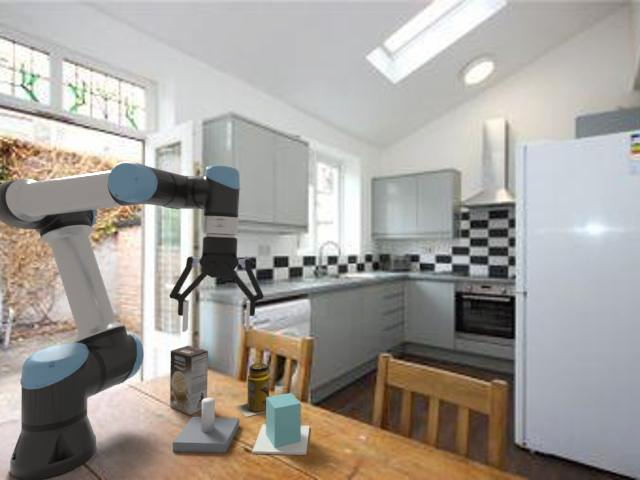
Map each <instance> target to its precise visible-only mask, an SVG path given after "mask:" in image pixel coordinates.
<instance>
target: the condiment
mask: <svg viewBox="0 0 640 480" xmlns="http://www.w3.org/2000/svg"><path fill="white" fill-rule="evenodd" d="M248 368H249V372H248V375H247V403H245V404H239V405H236V408H237V409H238V410H239V412H240V413H241V414H243V416H244V417H245V418H247V417H250V416H251V417H252V416H254V415H258V414H264V413H266V397H270V374H269V366H268V365H267V363H263V362H257V363H253V364H250V365H249V367H248Z"/></svg>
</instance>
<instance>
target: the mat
mask: <svg viewBox="0 0 640 480" xmlns="http://www.w3.org/2000/svg"><path fill="white" fill-rule="evenodd" d="M310 427H311V425H301V442H297V443H293V444H289V445H285V446H281V447H277V448H274V447H273V445H272V443H271V442H270V440H269V439H268V437H267V435H266V423H264V424H262V425H261V428H260V430H259V433H258V435H257V437H256V438H257V439H256V441H255V442H254V446H253V448H252V450H251V454H256V455H257V454H260V455H262V454H264V455H265V454H266V455H291V456H292V455H299V456H307V449H308V444H309V442H308V441H309V435H310V434H309V433H310Z"/></svg>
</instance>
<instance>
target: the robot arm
mask: <svg viewBox="0 0 640 480" xmlns="http://www.w3.org/2000/svg"><path fill="white" fill-rule="evenodd" d="M240 179H241V178H240V172H239V170H238V169H237V168H234V167H233V166H227V165H216V164H215V165H208V166H207V167H206V168H205V173H204V175H200V176H199V175H197V176H195V175H193V176H192V175H182V174H179V173H174V172H171V171H168V170H167V171H166V170H162V169H158V168H156V167H151V166H148V165H145V164H143V163H138V162H128V161H122V162H119V163H117V164H116V166H114V167H113V168H111V170H106V171H105V170H104V171H98V172H94V173H93V172H92V173H86V174H79V175H72V176H66V177H65V176H64V177H60V178H52V179H51V178H50V179H46V180H38V181H37V180H34V179H31V178H20V179H13V180H8V181H5V182H2V183H0V222H1V223H3V224H5V225H6V226H9V227H11V228H14V229H20V230H33V231H34V230H35V231H37V232H38V233H39V237H40V239H41V242H43V243H45V244H47V245H50V248H51V250H52V253H53V257H54V260H55V264H56V266H57V269H58V273H59V276H60V279H61V280H60V281H61V283H62V286H63V289H64V292H65V296H66V299H67V303H68V305H69V308H70V310H71V314H72V318H73V321H74V324H75V327H76V330H77V336H76V338H75V339H74V341H73V342H65V343H61V344H59V345H58V344H55V345H52V346H49V347H48V346H47V347H45V348H43V349H40V350H38V351H36V352H35V353H32V354H30V355H29V356H28V357H27V358H26V359H25V361H24V362H23V364H22V367H21V368H22V370H21V377H20V385H21V402H20V403H21V408H20V409H21V411H20V412H21V418H20V419H21V424H20V425H21V426H20V427H21V430H20V434H19V436H18V439H17V440H16V443H15V446H14V449H13V451H12V452H13V453H12V455H11V457H10V459H9V460H10V463H9V464H10V465H9V473H10V475H11V476H12V477H13V478H15V479H18V480H43V479H47V478H51V477H55V476H58V475H63V474H64V473H67V472H69V471H72V470H73V469H74V470H75V469H76V468H78V467H80V466H82V465H83V464H85V463H86V462H87V461H88V460H90V459H91V458H92V457H93V456H94V454H95V453H96V450H97V436H96V435H95V433H94V430H93V427H92V424H91V422H90V419H89V415H88V399H89V398H91V397H92V396H95V395H97V394H99V393H101V392H103V391H105V390H108V389H110V388H112V387H115V386H118V385H120V384H123V383H124V382H126V381H127V380H129V379H131V378H132V377H134V376H135V375H136V374H138V372H139V371H140V369H141V367H142V366H141V365H143V362H144V354H145V353H144V346H143V343H142V341H141V340H140V338H139V337H138V336H136V335H135V334H133V333H129V332H128V331H127V328H126V326H125V324H123V323H121V322H118V321H117V319H116V317H115V314H114V310H113V308H112V304H111V301H110V297H109V295H108V292H107V288H106V286H105V283H104V279H103V276H102V274H101V269H100V267H99V264H98V262H97V261H98V260H97V259H96V255H95V252H94V249H93V245H92V242H91V239H90V236H91V234H92V233H93V231H94V228H93V226H95V224H96V223H97V222H96V221H97V218H96V217H97V216H98V210H102V209H111V208H118V207H126V206H127V207H129V206H131V207H132V206H138V205H152V206H157V207H160V206H161V207H163V208H166V209H173V210H174V209H175V210H182V209H183V210H184V209H186V210H187V209H190V210H196V209H197V210H203V228H202V229H203V230H202V233H203V234H204V235H205V236H203V238H202V249H201V250H202V252H201V257H194V256H192V255H190V256H188V257H187V258H186V264H185V267H184V269H183V271H182V272H181V274H180V276H179V277H178V279H177V281H176V283H175V284H174V285H173V286H174V287H173V288H172V290H171V292H170V294H169V298H170V299H174V300H176V301H177V303H178V304H177V305H178V306H177V315H178V316H179V317H181V316H182V324H181V325H182V328H181V332H183V333H185V332H187V331H188V329H189V310H190V309H189V307H190V300H189V299H186V298H187V297H188V296H189V295H190V294H191V293H192V292H193V291H194V290H195V289H196V288H197V287H198V286H199V284H200V283H201V282H202V281H203V280H204V279H205V278H206V277H207V276H208V277H209V278H211V279H213V278H214V279H215V278H221V279H227V278H228V277H230V279H231V280H232V281H233V282H234V283H235V284H236V285H237V287H239V289H240V290H241V291H242V293H243V294H244V296H246V297H247V299H248V300H246V309H245V310H246V312H245V316H246V317H245V332H250V317H255V314H256V303H257V301H260V300H263V299H264V298H265V297H264V293H263V291H262V289H261V286H260V285H259V283H258V280H257V278H256V275H255V274H254V272H253V269H252V265H251V258H250V257H249V258H248V257H246V258H243V259H242V258H241V259H238V238H237V237H236V236H237V235H238V233H239V204H240V202H239V201H240V191H241V187H240V185H241V184H240V183H241V182H240ZM198 264H199V266H201V268H202V269H203V271H202V272H201V273H200V274H199V275H198V276H196V278H195V280H194V281H192V283H190V285H189V286H187V288H186V289H185V290H184V291H183V292H182V293H179V292H180V291H181V289H182V287H183V285H184V284H185V283H186V281H187V279H188V276H189V275H190V273H191V272H192V269H193V268H195V267H196V266H197V265H198ZM239 265H240V266H241V268H242V269H245V271H246V274H247V277H248V279H249V280H250V283H251V285H252V287H253V290H254V292H255V294H253V292H252V291H251V290H250V288H249V287H248V286H247V285H246V284H245V282H244V280H243V279H241V277H240V276H239V274H238V273H237V272H236V271H235V269H236V268H237V267H238V266H239Z"/></svg>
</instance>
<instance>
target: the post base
mask: <svg viewBox="0 0 640 480" xmlns="http://www.w3.org/2000/svg"><path fill="white" fill-rule="evenodd" d="M215 404H216V399H215V397H207V398H205V399H203V400H202V409H201V416H192V417H191V419H189V421H188V423H187V424H186V425H185V426H184V427H183V429H182V430H181V431H180V432H179V434H178V435H177V436H176V437H175V439H174V440H173V441H172V452H194V453H195V452H196V453H197V452H198V453H223V454H225V453H227V450H228V449H229V447H230V446H231V442H232V441H233V439H234V437H235V435H236V433H237V431H238V429H239V427H240V417H219V416H217V417H216V416H215V415H216V413H215V412H216V411H215V409H216V407H215V406H216V405H215Z"/></svg>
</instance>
